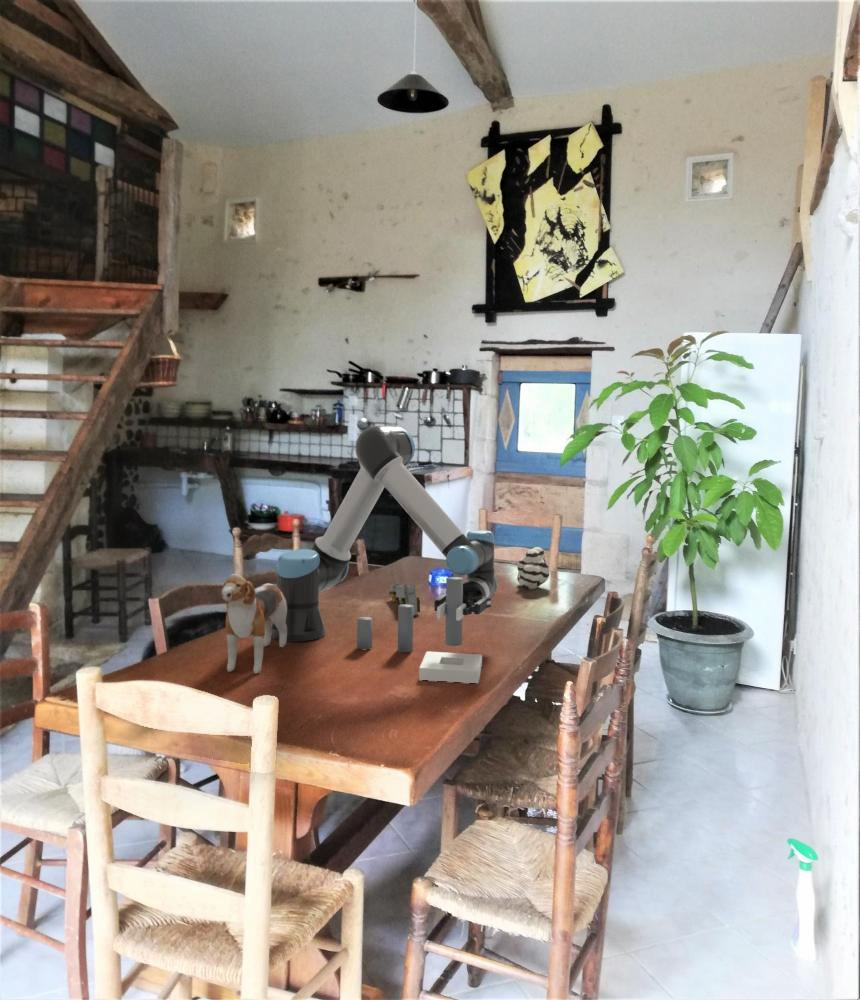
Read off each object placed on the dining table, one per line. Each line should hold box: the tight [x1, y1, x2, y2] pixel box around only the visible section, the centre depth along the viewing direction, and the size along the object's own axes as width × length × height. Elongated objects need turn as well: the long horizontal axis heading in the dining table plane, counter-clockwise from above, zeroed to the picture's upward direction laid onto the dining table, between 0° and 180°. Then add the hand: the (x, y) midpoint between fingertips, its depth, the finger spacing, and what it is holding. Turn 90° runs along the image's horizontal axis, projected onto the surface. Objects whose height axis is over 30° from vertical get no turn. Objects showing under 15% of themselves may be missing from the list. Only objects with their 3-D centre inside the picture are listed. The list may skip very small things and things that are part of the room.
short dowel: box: [356, 616, 373, 650], centre depth 215 cm, size 4×4×8 cm
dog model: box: [220, 573, 288, 675], centre depth 200 cm, size 10×41×25 cm, turn 172°
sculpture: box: [516, 546, 550, 590], centre depth 299 cm, size 22×12×15 cm, turn 166°
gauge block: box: [418, 650, 483, 685], centre depth 196 cm, size 14×14×3 cm
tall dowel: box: [444, 576, 464, 647], centre depth 195 cm, size 4×4×16 cm
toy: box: [389, 582, 421, 616], centre depth 264 cm, size 6×24×10 cm, turn 14°
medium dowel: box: [397, 604, 414, 653], centre depth 214 cm, size 4×4×12 cm
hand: (448, 614), depth 189 cm, fingers closed on tall dowel, 4 cm apart
